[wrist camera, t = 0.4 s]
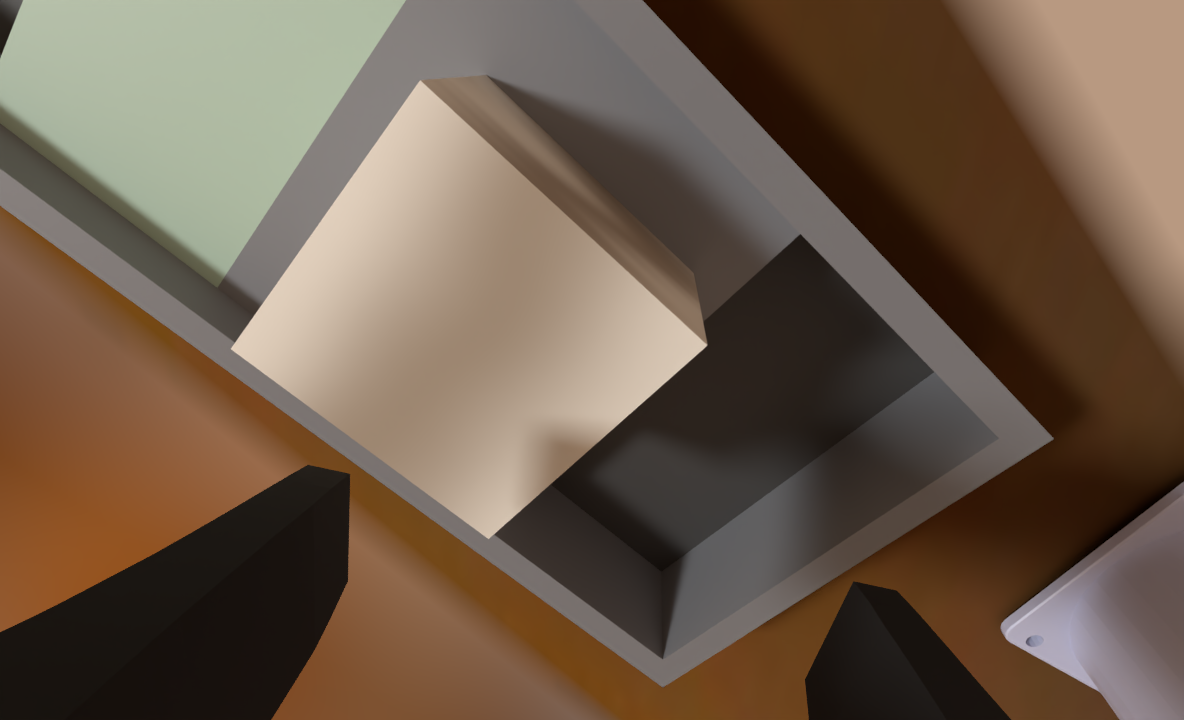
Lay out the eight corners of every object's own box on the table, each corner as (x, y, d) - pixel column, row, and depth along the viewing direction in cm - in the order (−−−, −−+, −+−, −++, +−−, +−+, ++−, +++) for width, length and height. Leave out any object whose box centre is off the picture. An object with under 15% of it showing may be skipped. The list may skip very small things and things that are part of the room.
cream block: (693, 272, 14) (707, 345, 11) (524, 434, 16) (488, 538, 13) (486, 74, 13) (420, 80, 9) (332, 279, 15) (230, 349, 11)
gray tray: (975, 365, 17) (1053, 439, 14) (661, 590, 22) (662, 687, 18) (-129, -806, 10) (-507, -1225, 7) (-258, -122, 15) (-525, -176, 11)
